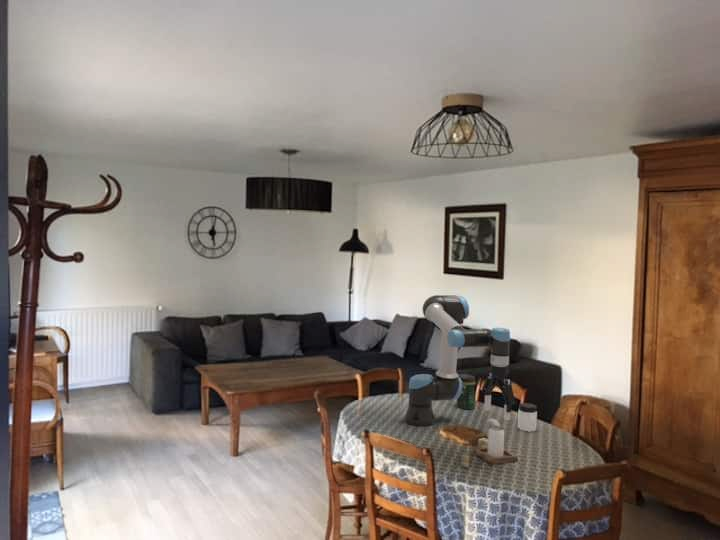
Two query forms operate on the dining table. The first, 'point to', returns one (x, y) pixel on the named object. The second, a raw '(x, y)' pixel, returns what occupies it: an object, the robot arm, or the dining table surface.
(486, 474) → the dining table surface
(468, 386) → the coffee jar
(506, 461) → the walnut tray
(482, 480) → the dining table surface
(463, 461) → the cork
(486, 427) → the white round disc
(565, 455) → the dining table surface
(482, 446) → the beech block
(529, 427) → the jar
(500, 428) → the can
